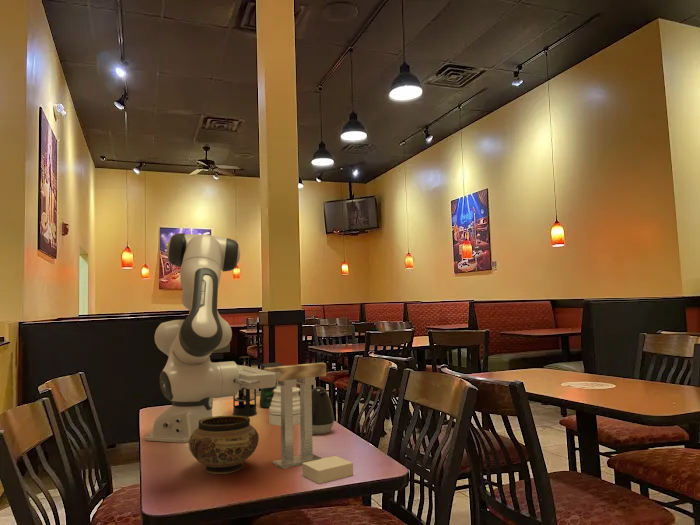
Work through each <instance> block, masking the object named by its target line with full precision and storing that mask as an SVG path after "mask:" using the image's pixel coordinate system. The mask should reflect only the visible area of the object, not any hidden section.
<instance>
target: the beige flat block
mask: <svg viewBox="0 0 700 525" xmlns="http://www.w3.org/2000/svg"><path fill="white" fill-rule="evenodd" d="M301 466H302V476H303V477H305V478H307V479H309V480H311V481H313V482H314V483H316V484H319V485H320V484H324V483H327V482H332V481H337V480H341V479H344V478H347V477H353V476H354V462H352V461H349V460H346V459H344V458H342V457H340V456H337V455H334V456H329V457H325V458H324V457H323V458H322V459H319V460H314V461H310V462H305V463H302V465H301Z"/></svg>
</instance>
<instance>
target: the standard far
mask: <svg viewBox="0 0 700 525" xmlns="http://www.w3.org/2000/svg"><path fill="white" fill-rule="evenodd" d="M296 385H299V388H300V391H299V396H300V424H299V425H300V426H299V428H300V430H299V431H300V455H295V456H293V458H295V459H297V460H299V461H301V462H303V463H305V462H310V461H314V460H319V459H323V458H322V457H320V456H318V455H316V454H314V453H313V452H314V450H313V448H314V447H313V434H312V390H313V389H312V386H313V385H314V386H315V385H316V377H307V378H303V379H296Z"/></svg>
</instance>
